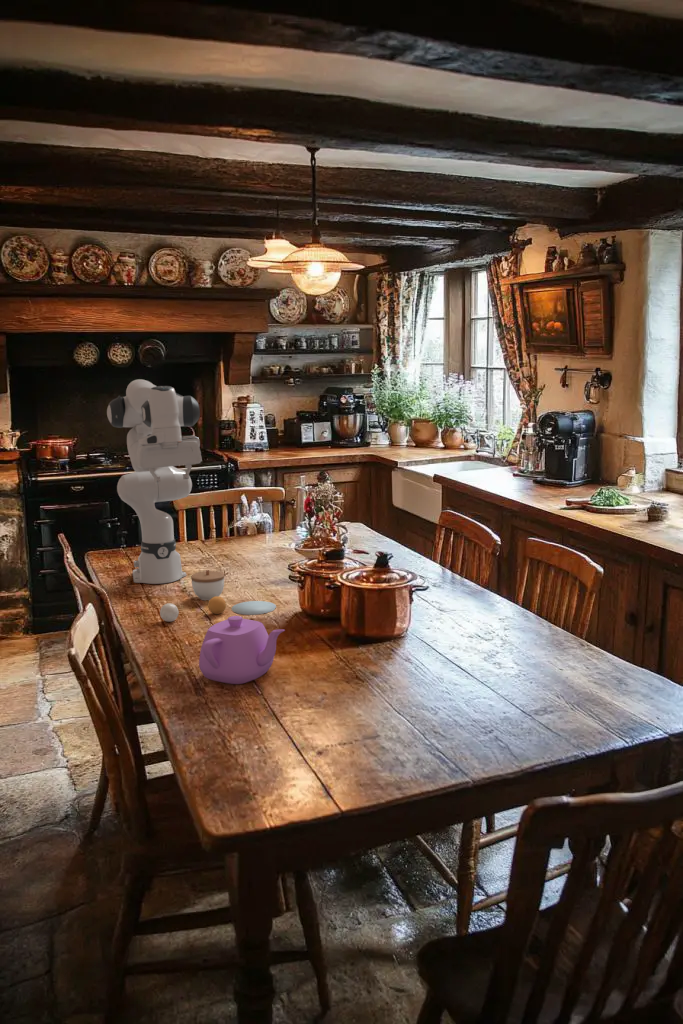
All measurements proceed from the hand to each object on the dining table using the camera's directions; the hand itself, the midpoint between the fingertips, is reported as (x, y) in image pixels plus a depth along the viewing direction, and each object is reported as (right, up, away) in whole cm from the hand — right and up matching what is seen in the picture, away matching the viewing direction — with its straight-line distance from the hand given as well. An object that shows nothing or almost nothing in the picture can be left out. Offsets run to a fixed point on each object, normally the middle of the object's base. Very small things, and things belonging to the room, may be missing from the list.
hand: (172, 480), depth 273 cm
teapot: (+28, -51, -57) cm, 82 cm away
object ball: (+15, -39, -8) cm, 42 cm away
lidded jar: (+10, -38, +10) cm, 41 cm away
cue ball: (+2, -40, -14) cm, 43 cm away
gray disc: (+26, -40, -2) cm, 48 cm away
